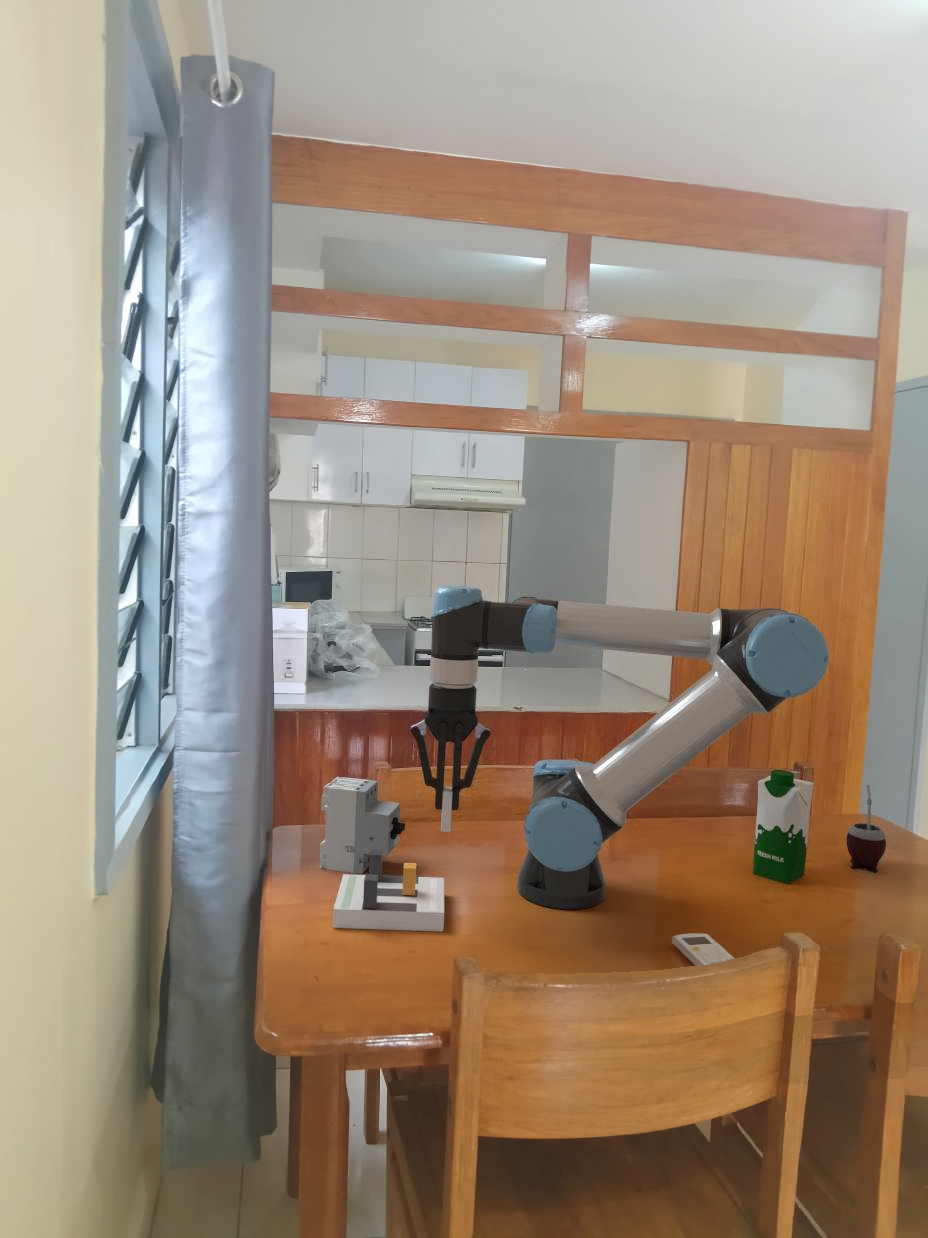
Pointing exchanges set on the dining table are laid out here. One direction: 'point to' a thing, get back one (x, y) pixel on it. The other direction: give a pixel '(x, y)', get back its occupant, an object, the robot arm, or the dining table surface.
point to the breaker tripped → (409, 878)
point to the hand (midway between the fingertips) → (445, 828)
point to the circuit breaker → (356, 824)
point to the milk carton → (782, 826)
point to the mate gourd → (866, 843)
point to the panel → (391, 905)
